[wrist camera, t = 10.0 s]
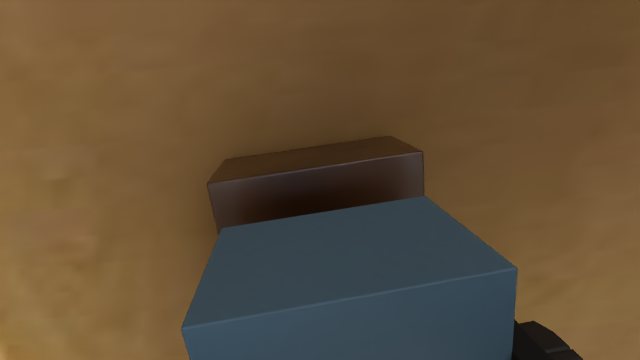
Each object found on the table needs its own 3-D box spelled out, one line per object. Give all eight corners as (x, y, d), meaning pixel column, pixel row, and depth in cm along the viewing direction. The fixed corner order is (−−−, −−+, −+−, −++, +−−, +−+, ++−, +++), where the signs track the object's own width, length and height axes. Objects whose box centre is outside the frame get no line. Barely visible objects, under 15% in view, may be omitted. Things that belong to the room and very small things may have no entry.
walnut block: (391, 135, 19) (423, 150, 14) (399, 278, 21) (429, 327, 17) (224, 159, 18) (205, 183, 14) (255, 303, 21) (248, 361, 16)
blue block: (425, 195, 12) (518, 267, 7) (430, 354, 14) (504, 490, 10) (221, 227, 12) (179, 329, 7) (259, 388, 14) (247, 549, 9)
